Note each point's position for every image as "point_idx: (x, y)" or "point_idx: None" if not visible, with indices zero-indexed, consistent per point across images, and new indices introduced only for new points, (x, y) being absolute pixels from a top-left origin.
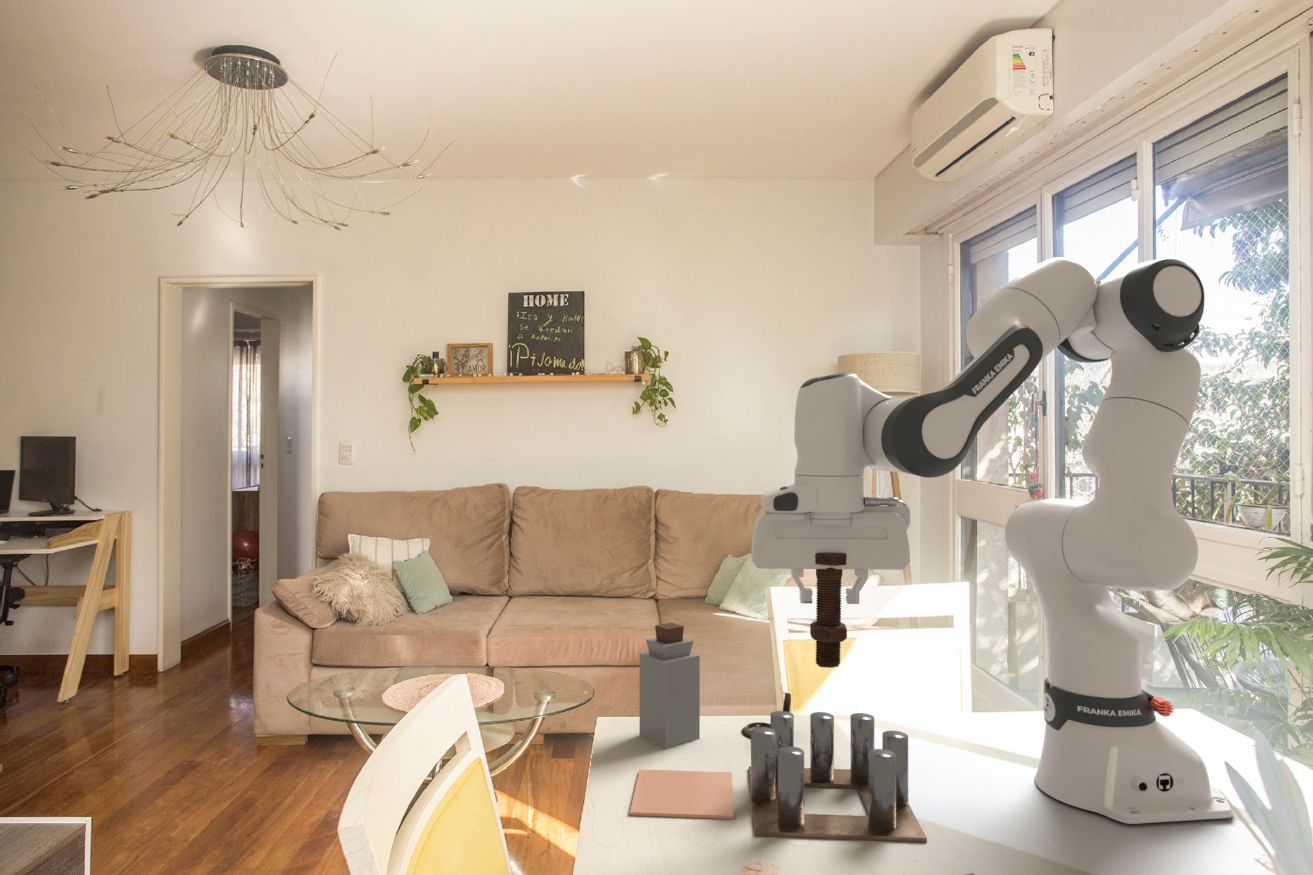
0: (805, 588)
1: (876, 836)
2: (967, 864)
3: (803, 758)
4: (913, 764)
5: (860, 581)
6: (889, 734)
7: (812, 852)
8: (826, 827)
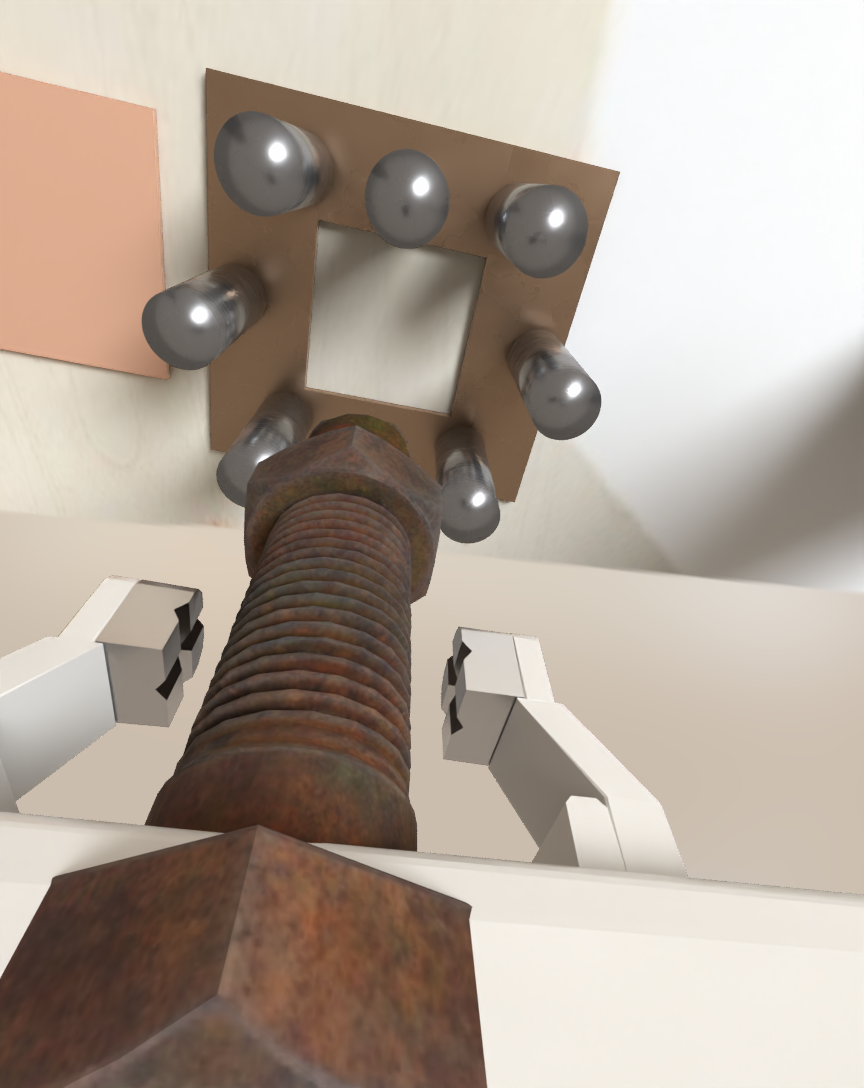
0: (113, 659)
1: None
2: (538, 559)
3: None
4: (726, 99)
5: (540, 843)
6: (552, 400)
7: None
8: None
